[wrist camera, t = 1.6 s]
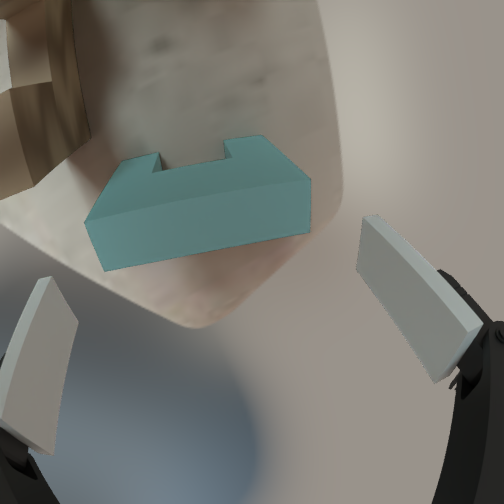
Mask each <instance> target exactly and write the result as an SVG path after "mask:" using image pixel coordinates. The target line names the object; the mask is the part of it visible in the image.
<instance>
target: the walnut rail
mask: <svg viewBox="0 0 504 504" xmlns="http://www.w3.org/2000/svg"><path fill="white" fill-rule="evenodd" d="M0 19H4V20H6V32H7V48H8V59H9V68H10V75H11V82H12V88H11V89H8V90H6V91H5V92H3V93H1V94H0V200H2V199H5V198H7V197H9V196H12V195H14V194H17V193H19V192H22V191H24V190H27V189H29V188H32V187H34V186H35V185H36V184H38V183H39V182H40V181H41V180H42V179H43V178H44V177H45V176H46V175H47V174H48V173H49V172H51V171H52V170H53V169H54V168H55V167H56V166H57V165H59V164H60V163H61V162H62V161H63V160H64V159H66V158H67V157H68V156H69V155H70V154H72V153H73V152H74V151H75V150H77V149H78V148H79V147H80V146H82V145H83V144H84V143H86V142H87V141H88V140H89V139H91V135H90V130H89V126H88V121H87V117H86V112H85V107H84V102H83V97H82V91H81V86H80V80H79V74H78V67H77V60H76V52H75V44H74V35H73V24H72V10H71V0H0Z"/></svg>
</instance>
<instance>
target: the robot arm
mask: <svg viewBox="0 0 504 504" xmlns="http://www.w3.org/2000/svg"><path fill="white" fill-rule="evenodd" d="M356 270H357V272H358V273H359V274H360V275H361V277H362V278H363V280H364V281H365V282H366V284H367V285H368V286H369V288H370V289H371V290H372V292H373V293H374V295H375V296H376V297H377V299H378V300H379V302H380V303H381V304H382V306H383V307H384V309H385V310H386V311H387V313H388V314H389V316H390V317H391V319H392V320H393V321H394V323H395V324H396V326H397V327H398V328H399V330H400V331H401V333H402V335H403V336H404V337H405V339H406V341H407V342H408V344H409V345H410V346H411V348H412V350H413V351H414V353H415V354H416V356H417V357H418V359H419V360H420V362H421V363H422V365H423V367H424V368H425V370H426V371H427V373H428V374H429V376H430V378H431V379H432V381H433V383H434V384H435V383H437V382H439V381H441V380H442V379H444V378H446V377H448V376H449V375H450V374H451V373H452V372H453V370H454V369H455V367H456V366H457V367H458V368H459V369H460V372H459V373H458V375H457V376H456V377H455V379H454V380H453V381H452V382H451V384H450V387H449V389H452V388H453V386H454V385H455V384H456V383H457V386H456V388H455V390H456V396H455V404H454V411H453V418H452V424H451V430H450V435H449V440H448V446H447V450H446V454H445V459H444V463H443V467H442V471H441V474H440V478H439V481H438V485H437V488H436V492H435V495H434V498H433V501H432V504H504V322H503V321H495V322H493V321H492V320H491V319H490V318H489V317H488V316H487V314H486V313H485V312H484V311H483V310H482V309H481V307H480V306H479V305H478V304H477V303H476V302H475V301H474V299H473V298H472V297H471V296H470V295H469V294H467V292H466V291H465V290H464V289H463V287H461V286H460V284H459V283H458V282H457V281H456V280H455V279H454V278H453V277H452V276H451V275H449V274H447V273H446V272H444V271H442V270H441V269H440V270H437V271H436V270H435V269H434V267H433V266H431V264H430V263H428V262H427V260H426V259H425V258H424V257H423V256H422V255H421V254H420V253H419V252H418V251H417V250H416V249H414V248H413V247H412V246H411V245H410V244H409V243H408V242H407V241H406V240H405V239H404V238H403V237H402V236H401V235H400V234H399V233H398V232H397V231H395V230H394V229H393V228H392V227H391V226H390V225H389V224H388V223H387V222H386V221H384V220H383V219H382V218H381V217H380V216H379V215H372V216H366V217H363V220H362V229H361V238H360V245H359V253H358V259H357V266H356ZM78 323H79V322H78V320H77V319H76V317H75V316H74V314H73V313H72V311H71V309H70V307H69V306H68V304H67V302H66V301H65V299H64V297H63V295H62V294H61V292H60V290H59V288H58V286H57V285H56V283H55V281H54V279H53V277H52V276H50V277H46V278H41V279H39V280H38V281H37V283H36V285H35V287H34V289H33V292H32V293H31V296H30V298H29V300H28V302H27V304H26V306H25V308H24V310H23V313H22V315H21V317H20V319H19V322H18V324H17V326H16V329H15V331H14V334H13V336H12V339H11V341H10V344H9V346H8V349H7V352H6V353H5V354H4V356H3V357H2V358H1V360H0V504H60V503H59V501H58V500H57V498H56V497H55V495H54V494H53V492H52V490H51V489H50V487H49V486H48V484H47V482H46V480H45V478H44V477H43V475H42V473H41V471H40V470H39V468H38V466H37V464H36V462H35V460H34V458H33V457H32V456H31V454H29V453H28V447H30V448H31V449H33V450H34V451H36V452H37V453H40V454H46V455H52V456H54V449H55V438H56V430H57V423H58V415H59V409H60V403H61V397H62V391H63V386H64V381H65V376H66V371H67V367H68V362H69V357H70V354H71V349H72V345H73V341H74V337H75V333H76V330H77V326H78Z"/></svg>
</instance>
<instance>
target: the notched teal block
mask: <svg viewBox="0 0 504 504" xmlns="http://www.w3.org/2000/svg"><path fill="white" fill-rule="evenodd" d="M223 142H224V150H225V158H226V159H222V160H216V161H211V162H205V163H199V164H194V165H189V166H184V167H179V168H174V169H169V170H164V171H162V166H161V161H160V157H159V152H158V153H153V154H149V155H145V156H140V157H136V158H132V159H128V160H124V161H122V162H121V163H120V165H119V166H118V168H117V169H116V171H115V172H114V174H113V175H112V177H111V178H110V180H109V181H108V183H107V185H106V186H105V188H104V189H103V191H102V193H101V194H100V196H99V198H98V199H97V201H96V203H95V204H94V206H93V208H92V209H91V211H90V213H89V215H88V216H87V218H86V220H85V222H84V224H85V226H86V229H87V232H88V234H89V237H90V239H91V242H92V244H93V246H94V249H95V251H96V254H97V256H98V258H99V261H100V263H101V265H102V267H103V270H104V272H106V271H111V270H116V269H121V268H126V267H131V266H137V265H142V264H147V263H152V262H157V261H162V260H167V259H172V258H177V257H183V256H188V255H193V254H198V253H203V252H209V251H214V250H219V249H224V248H230V247H235V246H240V245H245V244H251V243H256V242H261V241H267V240H272V239H277V238H283V237H288V236H294V235H299V234H304V233H310V217H311V179H310V178H309V177H308V176H307V175H306V174H305V173H304V172H303V171H302V170H300V169H299V168H298V167H297V166H296V165H295V164H294V163H293V162H292V161H291V160H290V159H288V158H287V157H286V156H285V155H284V154H283V153H282V152H281V151H280V150H278V149H277V148H276V147H275V146H274V145H273V144H272V143H270V142H269V141H268V140H267V139H266V138H265V137H264V136H262V135H257V136H250V137H242V138H235V139H228V140H223Z"/></svg>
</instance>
